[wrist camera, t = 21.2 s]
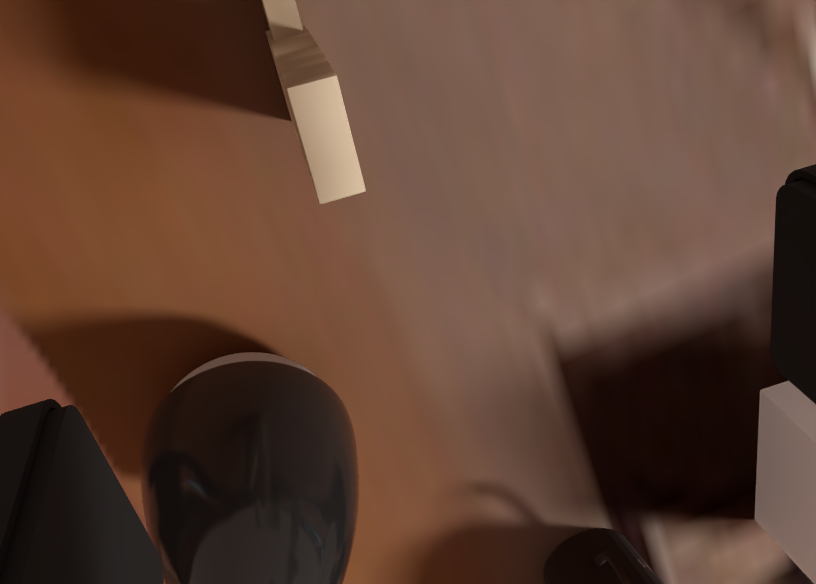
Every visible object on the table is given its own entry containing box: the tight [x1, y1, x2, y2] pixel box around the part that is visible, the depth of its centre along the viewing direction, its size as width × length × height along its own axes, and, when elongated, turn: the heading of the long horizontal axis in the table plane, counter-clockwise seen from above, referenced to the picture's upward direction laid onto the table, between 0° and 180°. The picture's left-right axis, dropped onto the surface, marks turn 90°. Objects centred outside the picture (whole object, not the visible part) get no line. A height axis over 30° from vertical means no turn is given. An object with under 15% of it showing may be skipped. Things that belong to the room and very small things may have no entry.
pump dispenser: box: [140, 352, 359, 584], centre depth 35 cm, size 10×10×15 cm
